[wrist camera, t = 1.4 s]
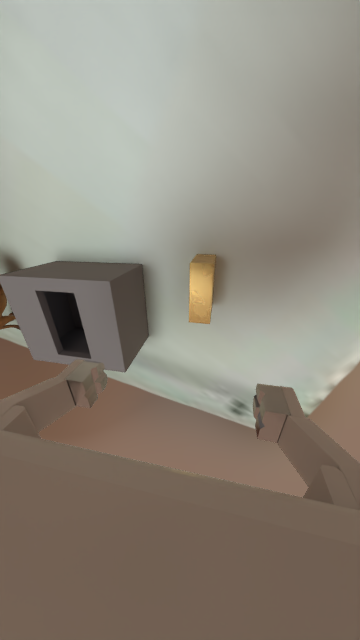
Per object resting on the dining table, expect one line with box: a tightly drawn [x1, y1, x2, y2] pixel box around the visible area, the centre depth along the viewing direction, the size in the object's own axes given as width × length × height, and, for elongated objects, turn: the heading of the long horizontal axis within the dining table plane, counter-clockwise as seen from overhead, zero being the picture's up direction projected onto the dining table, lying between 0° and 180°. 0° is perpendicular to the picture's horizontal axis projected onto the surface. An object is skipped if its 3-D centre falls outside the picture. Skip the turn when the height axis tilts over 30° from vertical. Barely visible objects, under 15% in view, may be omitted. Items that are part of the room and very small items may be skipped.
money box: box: [0, 261, 149, 372], centre depth 28 cm, size 12×14×9 cm
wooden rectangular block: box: [189, 254, 216, 324], centre depth 24 cm, size 7×2×6 cm, turn 0°
